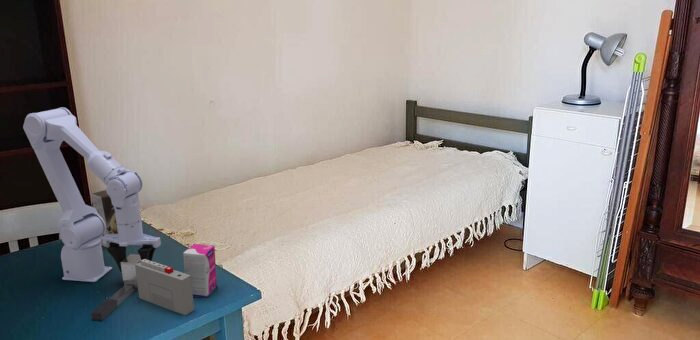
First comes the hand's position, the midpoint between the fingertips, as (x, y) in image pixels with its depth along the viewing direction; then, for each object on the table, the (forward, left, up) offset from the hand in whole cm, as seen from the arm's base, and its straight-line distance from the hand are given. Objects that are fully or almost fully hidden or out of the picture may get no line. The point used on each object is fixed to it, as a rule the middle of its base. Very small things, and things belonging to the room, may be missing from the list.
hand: (135, 270), depth 138 cm
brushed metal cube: (0, 0, -2) cm, 2 cm away
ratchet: (0, -7, -4) cm, 8 cm away
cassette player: (+12, -8, -4) cm, 15 cm away
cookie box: (-20, +24, -4) cm, 31 cm away
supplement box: (+18, -1, -4) cm, 18 cm away
